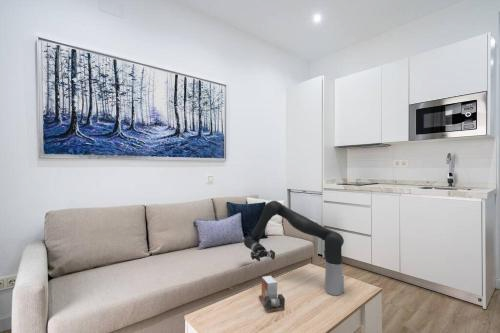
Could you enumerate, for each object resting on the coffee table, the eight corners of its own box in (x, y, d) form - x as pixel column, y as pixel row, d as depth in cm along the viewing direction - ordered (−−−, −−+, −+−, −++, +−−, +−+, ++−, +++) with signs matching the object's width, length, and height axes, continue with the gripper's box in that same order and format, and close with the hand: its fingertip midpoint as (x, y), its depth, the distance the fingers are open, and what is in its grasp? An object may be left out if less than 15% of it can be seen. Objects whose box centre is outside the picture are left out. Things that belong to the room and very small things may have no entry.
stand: (274, 295, 134) (274, 284, 134) (284, 310, 120) (284, 298, 120) (259, 297, 132) (259, 286, 132) (267, 313, 118) (267, 300, 118)
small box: (261, 296, 131) (261, 276, 131) (270, 294, 133) (271, 275, 133) (267, 304, 124) (267, 283, 124) (277, 302, 126) (277, 281, 126)
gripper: (247, 245, 153) (254, 253, 137) (268, 242, 157) (278, 250, 141) (247, 257, 153) (254, 266, 137) (268, 254, 156) (278, 263, 141)
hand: (266, 258), depth 139 cm, fingers open, 8 cm apart
